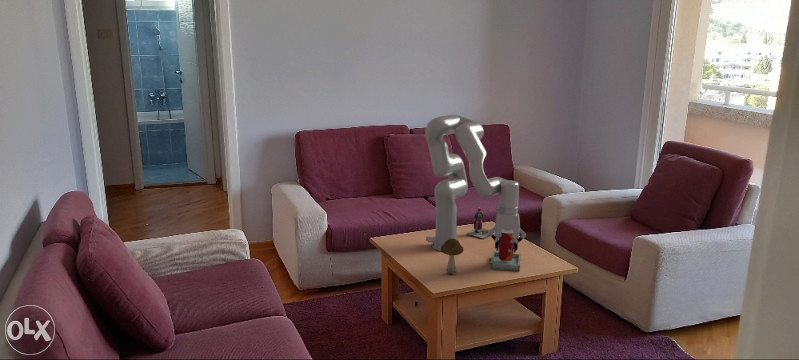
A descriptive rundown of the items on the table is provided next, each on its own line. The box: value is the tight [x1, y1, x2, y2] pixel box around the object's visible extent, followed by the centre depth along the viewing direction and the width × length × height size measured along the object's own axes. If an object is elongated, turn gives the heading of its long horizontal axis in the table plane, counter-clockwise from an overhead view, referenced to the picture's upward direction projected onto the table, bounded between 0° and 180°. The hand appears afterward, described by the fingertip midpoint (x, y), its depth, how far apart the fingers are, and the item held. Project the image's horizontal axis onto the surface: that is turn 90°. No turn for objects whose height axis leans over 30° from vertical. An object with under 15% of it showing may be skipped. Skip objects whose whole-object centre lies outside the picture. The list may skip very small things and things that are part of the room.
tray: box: [489, 251, 522, 272], centre depth 249 cm, size 12×14×2 cm
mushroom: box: [440, 238, 465, 275], centre depth 237 cm, size 9×11×15 cm
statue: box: [466, 206, 495, 240], centre depth 284 cm, size 11×9×15 cm
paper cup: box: [498, 229, 515, 261], centre depth 247 cm, size 8×8×14 cm
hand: (506, 250), depth 248 cm, fingers closed on paper cup, 6 cm apart
